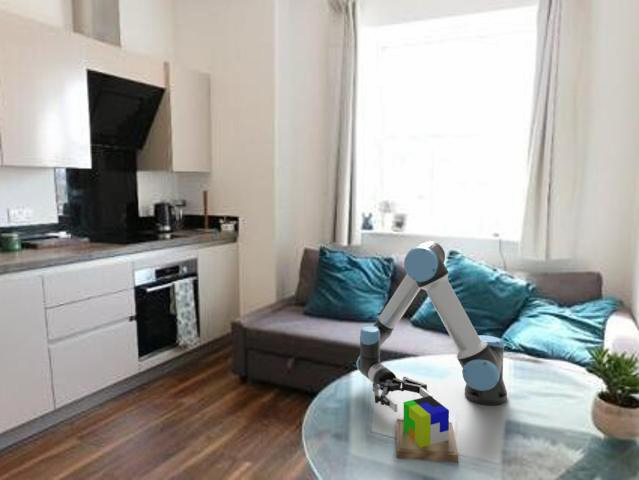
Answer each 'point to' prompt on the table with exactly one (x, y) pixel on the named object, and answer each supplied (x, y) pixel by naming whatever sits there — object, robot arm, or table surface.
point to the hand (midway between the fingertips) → (414, 403)
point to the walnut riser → (426, 447)
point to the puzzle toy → (426, 421)
